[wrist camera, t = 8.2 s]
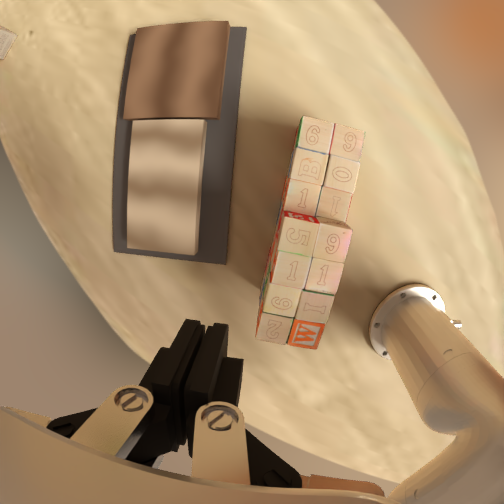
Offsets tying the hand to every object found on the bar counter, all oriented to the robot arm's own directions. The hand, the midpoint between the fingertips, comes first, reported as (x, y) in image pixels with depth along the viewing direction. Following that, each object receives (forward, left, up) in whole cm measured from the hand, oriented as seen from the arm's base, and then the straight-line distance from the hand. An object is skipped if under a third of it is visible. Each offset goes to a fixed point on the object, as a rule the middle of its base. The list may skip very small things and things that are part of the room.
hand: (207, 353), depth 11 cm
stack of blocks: (-6, -1, -28) cm, 28 cm away
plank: (+11, -4, -26) cm, 29 cm away
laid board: (+11, -19, -27) cm, 34 cm away
